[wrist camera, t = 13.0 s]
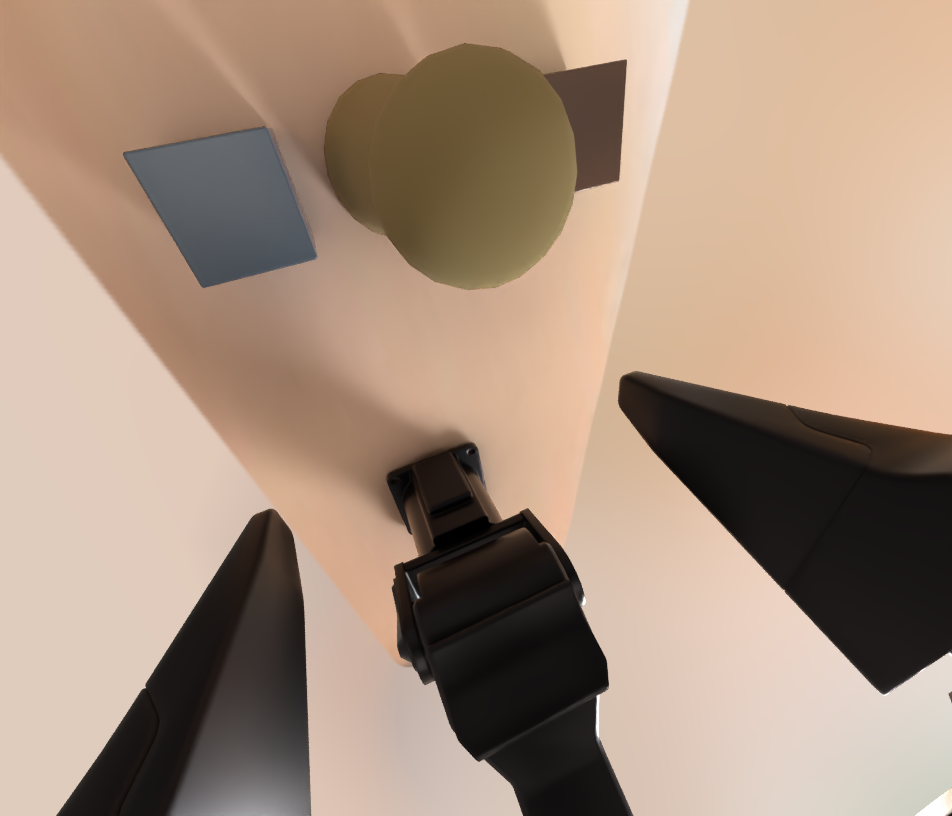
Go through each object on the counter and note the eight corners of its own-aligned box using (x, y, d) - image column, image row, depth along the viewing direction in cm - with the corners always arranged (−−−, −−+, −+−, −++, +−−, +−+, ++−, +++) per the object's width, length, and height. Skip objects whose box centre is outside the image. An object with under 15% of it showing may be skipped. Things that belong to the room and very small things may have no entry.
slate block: (313, 237, 17) (318, 258, 14) (218, 260, 17) (201, 288, 14) (271, 127, 15) (265, 125, 12) (157, 149, 14) (120, 152, 11)
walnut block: (569, 174, 20) (619, 181, 17) (498, 191, 19) (537, 202, 16) (569, 72, 18) (627, 58, 15) (487, 87, 17) (530, 76, 14)
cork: (404, 265, 19) (491, 363, 11) (291, 161, 16) (293, 190, 7) (488, 165, 18) (655, 191, 10) (389, 29, 15) (522, -115, 6)
